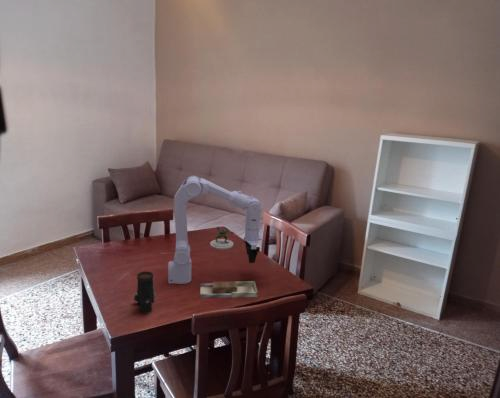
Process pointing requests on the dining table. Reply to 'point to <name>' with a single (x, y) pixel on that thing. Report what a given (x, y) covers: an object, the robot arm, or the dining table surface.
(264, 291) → the dining table surface
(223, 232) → the monster figurine
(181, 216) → the robot arm
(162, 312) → the dining table surface
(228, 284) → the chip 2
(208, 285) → the slot board
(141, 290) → the scope
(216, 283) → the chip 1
